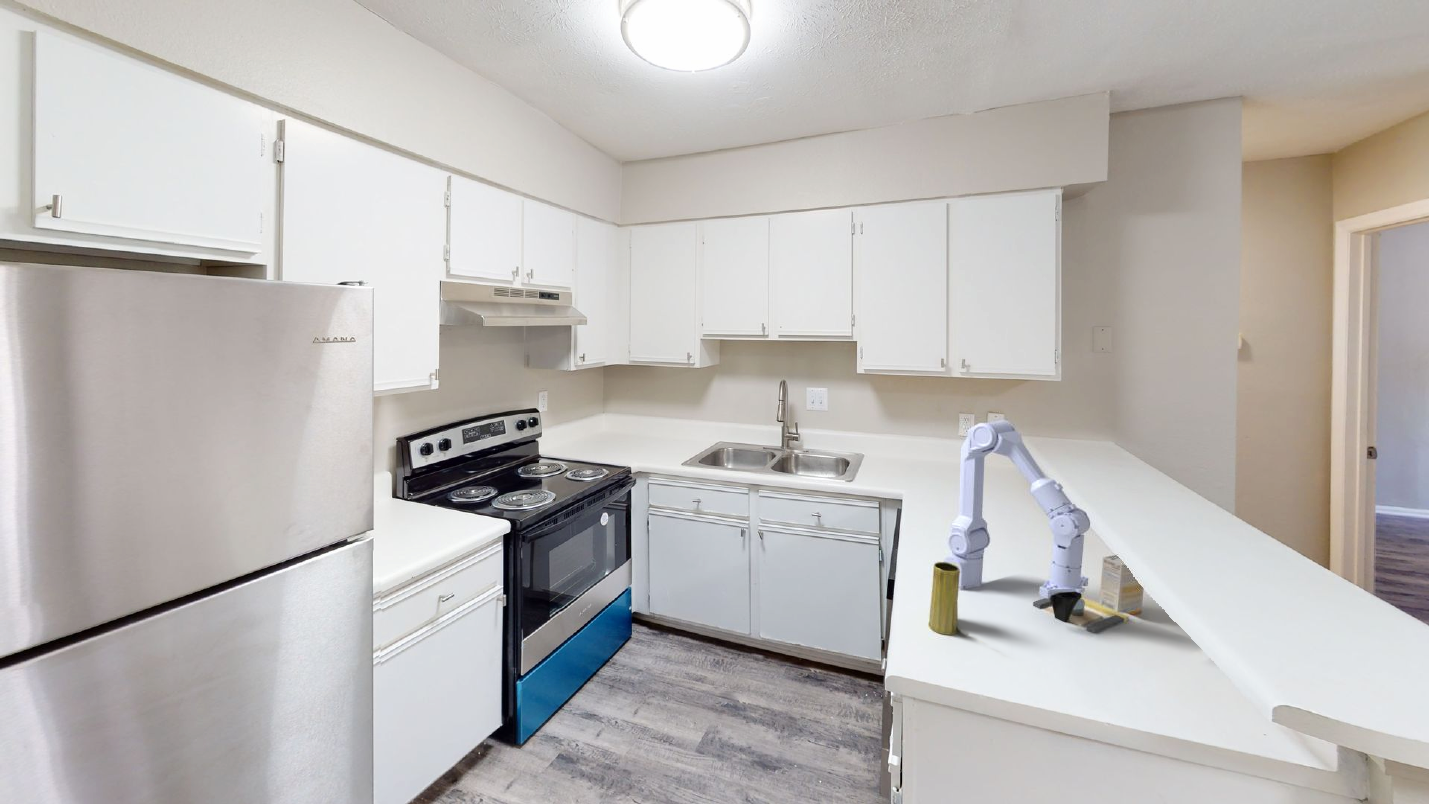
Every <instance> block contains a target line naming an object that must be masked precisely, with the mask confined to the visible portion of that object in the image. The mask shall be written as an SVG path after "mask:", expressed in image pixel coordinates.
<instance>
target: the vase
mask: <svg viewBox="0 0 1429 804" xmlns="http://www.w3.org/2000/svg"><path fill="white" fill-rule="evenodd" d="M959 574H960V569H959V567H958V566H956V565H954V564H952V563H948V562H944V561H939V562H938V561H937V562H935V563H934V564H933V574H932V585H931V586H932V588H931V598H930V599H931V600H930V608H929V621H928V627H929V628H930V629H931V630H932V631H934V632H935V633H938V634H941V635H945V636H947V635H948V636H949V635H950V636H951V635H955V634H957V633H958V632H959V627H958V624H959V621H958V620H959V619H958V617H959V612H958V610H959V607H958V606H959V605H958V600H959V591H958V589H959Z"/></svg>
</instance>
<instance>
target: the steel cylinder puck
mask: <svg viewBox="0 0 1429 804" xmlns="http://www.w3.org/2000/svg"><path fill="white" fill-rule="evenodd" d="M1085 607H1086V606H1085V601H1084V600H1083V599H1081V598H1080V599H1079V600H1078V602H1077V603H1076V605H1075V606H1074V608H1073V610H1072V612H1071V615H1073V616H1083V615H1084V609H1085Z"/></svg>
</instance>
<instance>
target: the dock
mask: <svg viewBox="0 0 1429 804" xmlns="http://www.w3.org/2000/svg"><path fill="white" fill-rule="evenodd" d="M1081 599H1083V600H1084V601H1085V606H1084V607H1086V608H1089V609H1092V610H1094V611H1096V612H1098V613H1101V614H1103V615H1106V616H1108V617H1107V618H1105V619H1101V620H1098V621H1095V622H1093V623H1090V624H1088V625H1086V631H1087V632H1089V633H1092V634H1098V633H1099V632H1102V631H1105V630H1108V629H1109V628H1113V627H1115V626H1117V625H1120V624H1122V623H1125V622H1127V621H1129V615H1126V614H1124V613H1122V612H1117V611H1114V610H1112V609H1110V608H1108V607H1106V606H1104V605H1102V604H1099V603H1097V602H1095V601H1093V600H1090V599H1087V598H1085V597H1083V596H1081ZM1050 606H1052V603H1051V601H1050V598H1049V599H1047V598H1045V597H1043V598H1040V599H1038V600H1035V601H1032V607H1035V608H1037V609H1043V608H1046V607H1050Z"/></svg>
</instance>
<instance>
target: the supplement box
mask: <svg viewBox="0 0 1429 804" xmlns="http://www.w3.org/2000/svg"><path fill="white" fill-rule="evenodd" d="M1117 555H1118V554H1112V555H1109V556H1104V557H1102V566H1101V567H1102V568H1101V578H1100V579H1101V580H1100V588H1099V589H1100V591H1099V601H1098V602H1099V603H1098V604H1100V605H1102V606H1105V607H1107V608H1109V609H1112V610H1114V611H1117V612H1119V613H1122V612H1123V613H1125V614H1128V615H1130V616H1131V615H1134V614H1139V613H1142V609H1143V598H1144V588H1145V587H1144V588H1143V587H1142V586H1141V585H1140V584H1139V583H1138V581H1137V580H1136V579H1135V577H1133V574H1132V573H1131V571H1130V570H1129V568H1127V566H1126V565H1125V564H1124V562H1123V561H1122V560H1121V559H1120V558H1119V557H1118V556H1117Z"/></svg>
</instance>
